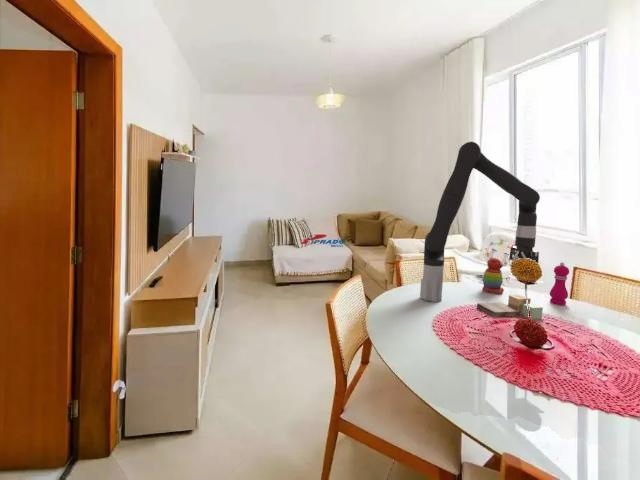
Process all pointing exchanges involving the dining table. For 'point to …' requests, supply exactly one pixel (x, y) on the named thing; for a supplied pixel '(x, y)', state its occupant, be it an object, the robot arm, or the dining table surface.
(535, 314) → the green cube
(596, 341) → the dining table surface
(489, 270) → the stacking bear
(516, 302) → the oak cube
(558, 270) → the pepper mill
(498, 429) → the dining table surface
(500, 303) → the base board
